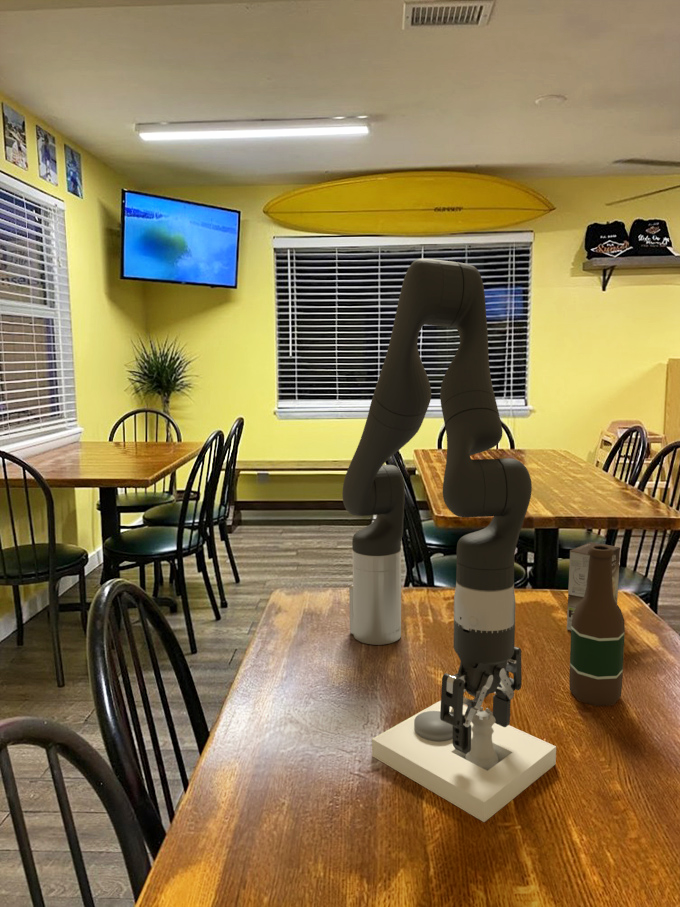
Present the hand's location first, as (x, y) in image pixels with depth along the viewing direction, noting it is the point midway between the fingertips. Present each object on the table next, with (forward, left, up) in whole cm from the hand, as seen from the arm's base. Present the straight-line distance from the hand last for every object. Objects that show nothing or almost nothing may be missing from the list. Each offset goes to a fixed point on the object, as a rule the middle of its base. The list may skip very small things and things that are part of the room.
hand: (482, 736), depth 86 cm
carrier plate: (-3, 0, -5) cm, 5 cm away
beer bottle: (+1, +29, -5) cm, 29 cm away
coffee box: (-12, +54, -5) cm, 56 cm away
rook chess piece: (0, 0, -5) cm, 5 cm away
